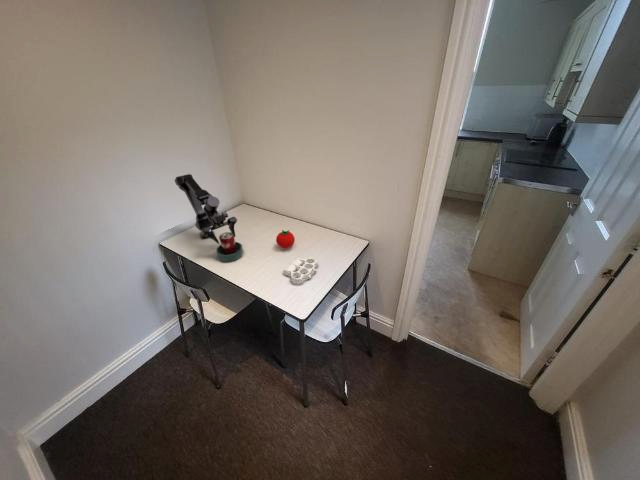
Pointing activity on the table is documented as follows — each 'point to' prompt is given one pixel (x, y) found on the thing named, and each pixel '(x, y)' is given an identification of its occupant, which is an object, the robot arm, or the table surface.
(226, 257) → the bowl
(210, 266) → the table surface
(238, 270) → the table surface
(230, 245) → the soda can
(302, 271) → the white muffin tray
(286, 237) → the tomato
